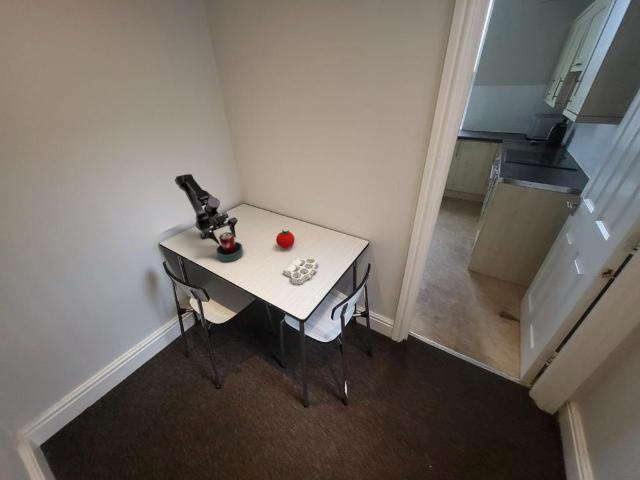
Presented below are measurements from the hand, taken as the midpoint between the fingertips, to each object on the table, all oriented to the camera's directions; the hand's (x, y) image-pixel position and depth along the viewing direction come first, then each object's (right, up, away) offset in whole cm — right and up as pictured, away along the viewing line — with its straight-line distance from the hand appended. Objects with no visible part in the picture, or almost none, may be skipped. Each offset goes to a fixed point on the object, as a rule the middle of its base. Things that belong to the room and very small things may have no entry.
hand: (227, 240), depth 134 cm
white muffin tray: (+40, -16, -7) cm, 43 cm away
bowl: (0, -8, +5) cm, 9 cm away
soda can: (0, -7, +5) cm, 9 cm away
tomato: (+29, -4, +12) cm, 32 cm away
